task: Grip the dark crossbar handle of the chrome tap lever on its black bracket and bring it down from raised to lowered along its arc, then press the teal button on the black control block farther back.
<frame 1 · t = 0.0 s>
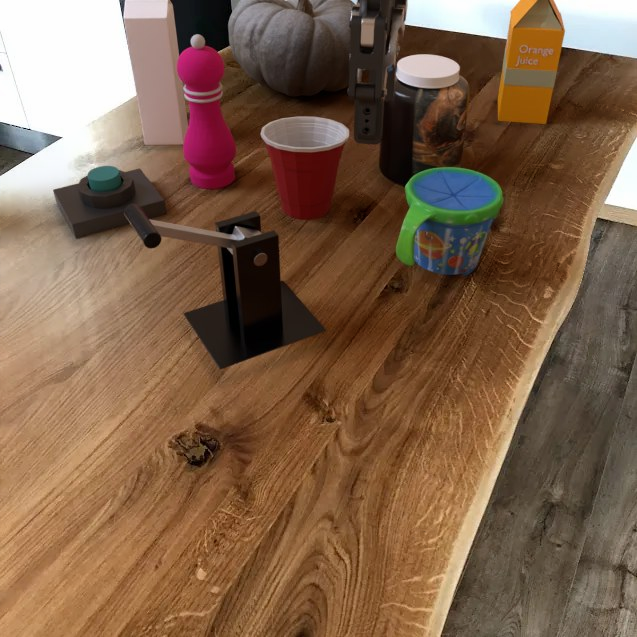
hand: (374, 119, 62), 24 cm above the table, tool pointing down, fingers open, 8 cm apart
lever: (200, 235, 67), point 13 cm above the table, hinge at 28.0°
bracket: (254, 330, 78), on the table
gourd: (304, 82, 131), on the table
pepper mill: (213, 179, 103), on the table
button: (104, 179, 94), point 4 cm above the table, slide at 0.1 cm
orange juice: (520, 112, 120), on the table
control block: (111, 209, 97), on the table
plastic cup: (306, 215, 96), on the table
snack cup: (444, 265, 87), on the table
milk: (167, 137, 114), on the table
jar: (418, 170, 105), on the table
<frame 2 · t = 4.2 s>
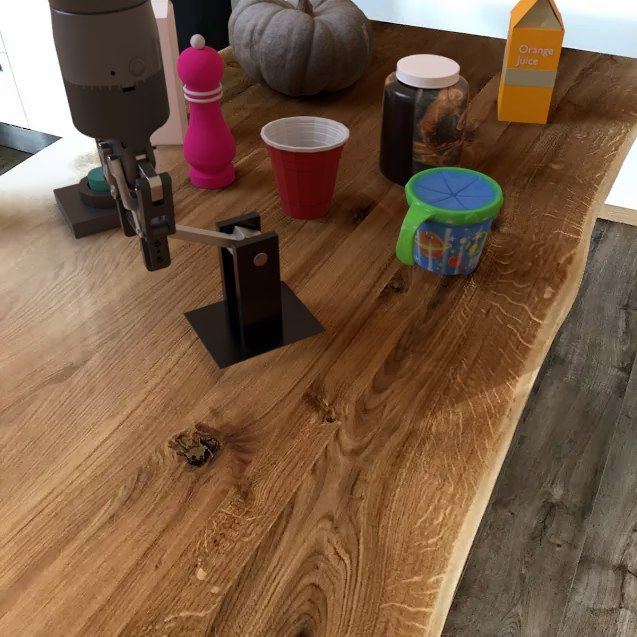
hand: (146, 249, 65), 14 cm above the table, tool pointing down, fingers closed on lever, 5 cm apart
lever: (200, 235, 67), point 13 cm above the table, hinge at 28.0°, touching gripper
everything else where it was.
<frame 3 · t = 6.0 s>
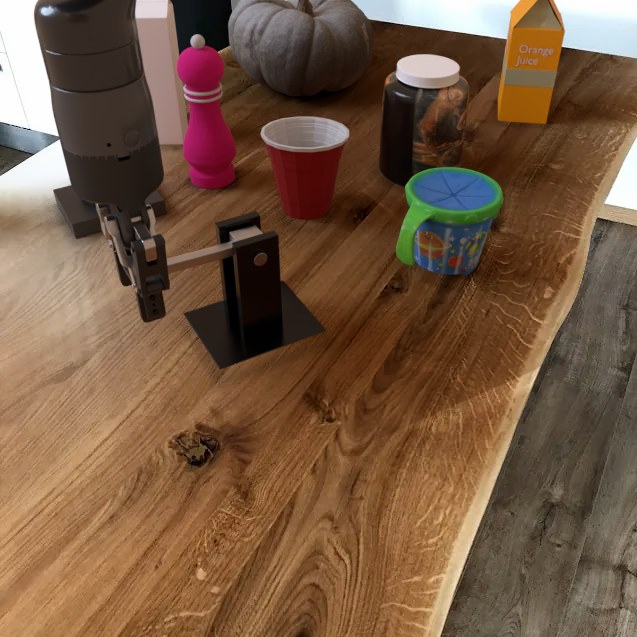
hand: (142, 299, 68), 8 cm above the table, tool pointing down, fingers closed on lever, 5 cm apart
lever: (197, 258, 69), point 11 cm above the table, hinge at 1.7°, touching gripper
everything else where it was.
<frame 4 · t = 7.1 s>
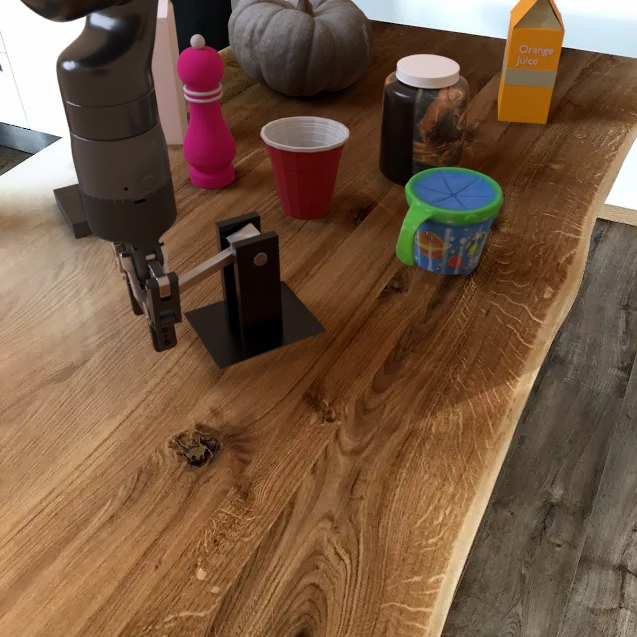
hand: (154, 328, 71), 5 cm above the table, tool pointing down, fingers closed on lever, 5 cm apart
lever: (201, 272, 70), point 9 cm above the table, hinge at -17.7°, touching gripper
everything else where it was.
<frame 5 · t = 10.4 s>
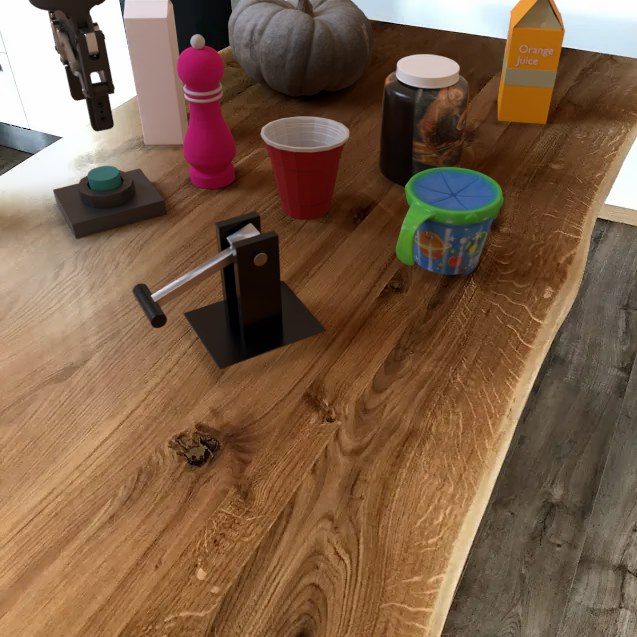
hand: (92, 113, 78), 18 cm above the table, tool pointing down, fingers open, 8 cm apart
lever: (201, 272, 70), point 9 cm above the table, hinge at -18.3°
everything else where it was.
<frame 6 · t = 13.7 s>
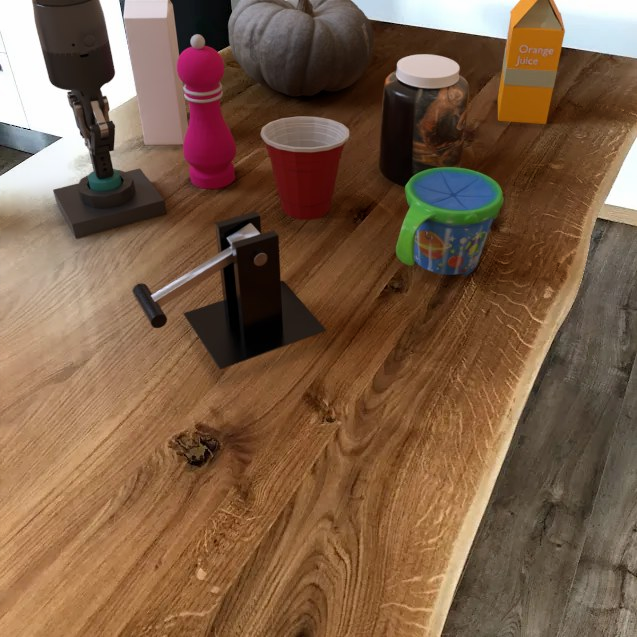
hand: (104, 175, 94), 5 cm above the table, tool pointing down, fingers closed
button: (105, 181, 94), point 4 cm above the table, slide at -0.2 cm, touching gripper
everything else where it was.
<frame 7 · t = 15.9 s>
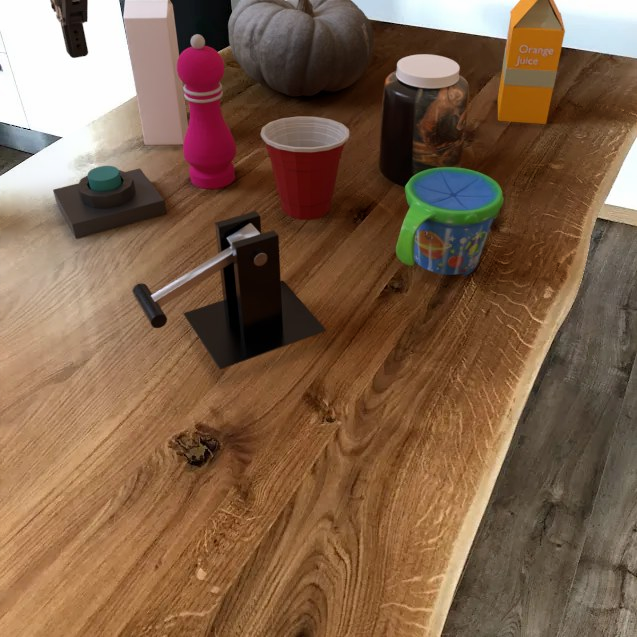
hand: (78, 55, 87), 20 cm above the table, tool pointing down, fingers closed
button: (104, 179, 94), point 4 cm above the table, slide at 0.1 cm
everything else where it was.
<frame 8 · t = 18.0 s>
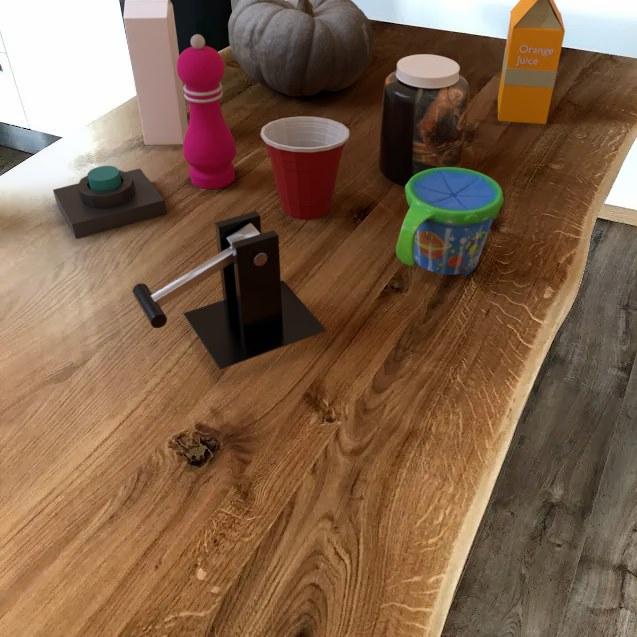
nothing on the table moved.
at the end: lever at -18° (first picture: +28°); button pushed in 1.2 cm at the most during the clip, back to where it started at the end; button slide at 0.1 cm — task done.
